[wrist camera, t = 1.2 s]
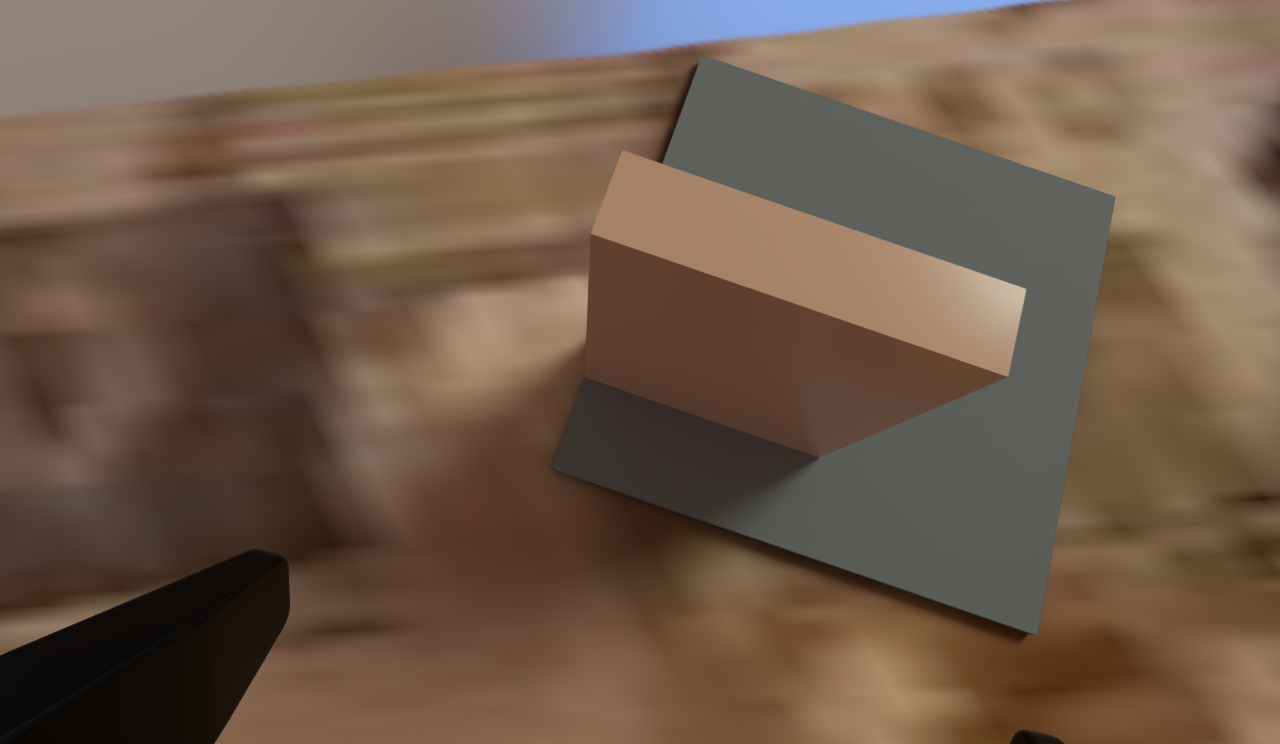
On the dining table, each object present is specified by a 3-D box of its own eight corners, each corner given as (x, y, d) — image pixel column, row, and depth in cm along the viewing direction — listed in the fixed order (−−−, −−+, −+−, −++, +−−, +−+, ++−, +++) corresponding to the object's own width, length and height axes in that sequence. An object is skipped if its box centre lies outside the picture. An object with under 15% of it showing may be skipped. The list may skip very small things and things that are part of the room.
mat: (1029, 634, 24) (1037, 635, 23) (552, 469, 24) (551, 468, 23) (1107, 201, 28) (1115, 196, 28) (700, 62, 28) (701, 55, 28)
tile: (819, 457, 24) (1008, 376, 14) (584, 377, 24) (590, 233, 14) (834, 402, 25) (1027, 282, 14) (604, 323, 25) (624, 143, 14)
